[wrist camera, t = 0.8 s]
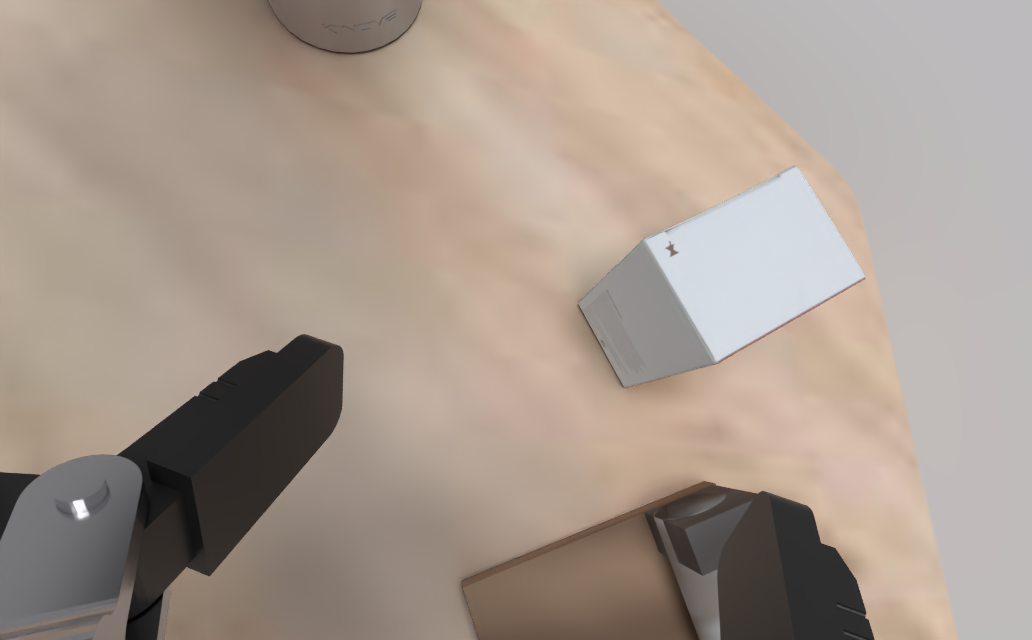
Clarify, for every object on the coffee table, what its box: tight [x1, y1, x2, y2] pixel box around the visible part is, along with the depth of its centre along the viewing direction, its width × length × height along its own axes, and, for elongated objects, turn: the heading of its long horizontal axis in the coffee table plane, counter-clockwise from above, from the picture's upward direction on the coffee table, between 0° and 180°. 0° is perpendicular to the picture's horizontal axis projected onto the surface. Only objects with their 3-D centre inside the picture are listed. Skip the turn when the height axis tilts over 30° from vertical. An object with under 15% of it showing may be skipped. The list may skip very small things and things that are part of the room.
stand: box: [462, 481, 757, 640], centre depth 25 cm, size 9×14×6 cm, turn 109°
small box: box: [579, 166, 865, 388], centre depth 26 cm, size 8×6×10 cm
